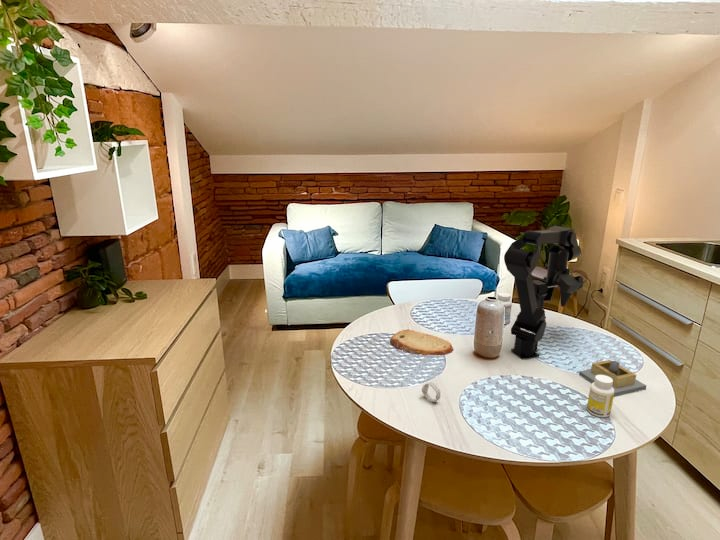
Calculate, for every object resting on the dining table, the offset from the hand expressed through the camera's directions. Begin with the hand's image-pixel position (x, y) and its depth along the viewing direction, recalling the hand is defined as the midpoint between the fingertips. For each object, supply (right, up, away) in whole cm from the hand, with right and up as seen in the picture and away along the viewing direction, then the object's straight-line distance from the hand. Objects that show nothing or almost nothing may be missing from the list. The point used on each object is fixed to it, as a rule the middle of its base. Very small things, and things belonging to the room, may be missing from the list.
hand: (551, 308), depth 148 cm
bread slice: (-45, -13, 0) cm, 47 cm away
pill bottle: (-11, -7, +18) cm, 23 cm away
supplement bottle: (-4, -24, -35) cm, 43 cm away
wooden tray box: (+8, -18, -22) cm, 30 cm away
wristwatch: (-46, -23, -30) cm, 60 cm away
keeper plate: (+8, -19, -22) cm, 30 cm away
